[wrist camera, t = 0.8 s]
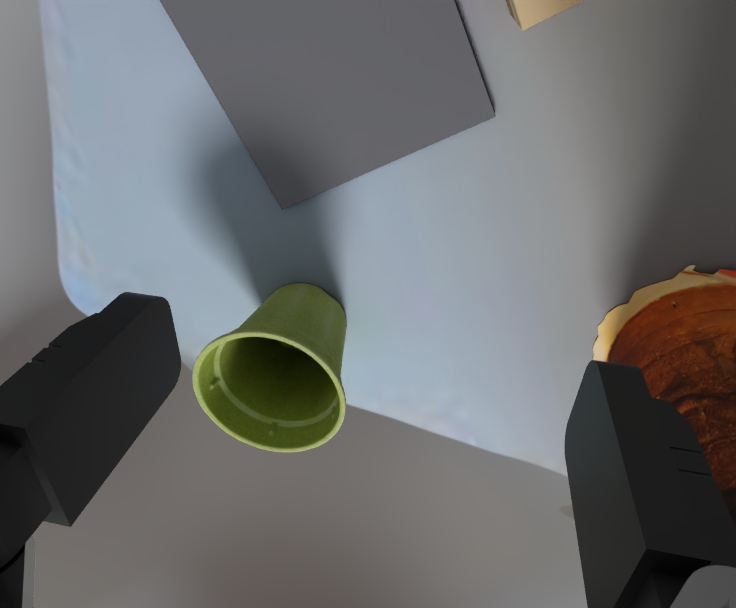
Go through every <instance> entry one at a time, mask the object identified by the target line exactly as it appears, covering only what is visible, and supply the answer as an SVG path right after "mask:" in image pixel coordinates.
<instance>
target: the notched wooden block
mask: <svg viewBox="0 0 736 608" xmlns="http://www.w3.org/2000/svg"><path fill="white" fill-rule="evenodd" d="M582 1H584V0H506V2H507V5H508V8H509V12H510V15H511V16H512V17H513V18H514V20H515V21H516V22H517V24H518V25H519V26H520V28H521V29H522V30H525V29H527V28H529V27H531V26H533V25H535V24H537V23H539V22H541V21H543V20H545V19H547V18H549V17H551V16H553V15H555V14H557V13H559V12H562V11H564V10H566V9H568V8H570V7H572V6H574V5H576V4H578V3H580V2H582Z"/></svg>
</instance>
